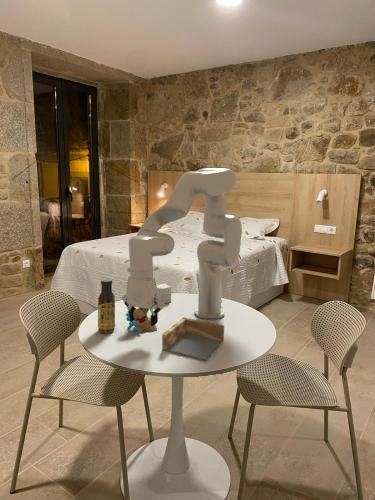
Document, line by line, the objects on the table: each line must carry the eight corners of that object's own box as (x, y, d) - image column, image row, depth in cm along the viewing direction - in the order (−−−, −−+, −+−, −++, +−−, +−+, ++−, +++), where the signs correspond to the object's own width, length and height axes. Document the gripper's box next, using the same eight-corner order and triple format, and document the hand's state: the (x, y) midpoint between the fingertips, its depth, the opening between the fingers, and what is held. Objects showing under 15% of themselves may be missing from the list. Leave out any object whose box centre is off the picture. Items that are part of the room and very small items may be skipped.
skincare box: (165, 298, 174) (165, 283, 172) (171, 302, 169) (171, 286, 167) (153, 300, 171) (153, 285, 169) (159, 304, 166) (159, 288, 164)
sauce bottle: (100, 335, 134) (98, 283, 130) (96, 329, 140) (94, 278, 135) (118, 332, 137) (116, 281, 133) (113, 325, 143) (111, 276, 138)
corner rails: (183, 332, 138) (183, 317, 137) (223, 341, 132) (224, 325, 130) (162, 350, 124) (162, 334, 123) (206, 361, 117) (206, 344, 116)
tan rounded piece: (144, 323, 131) (143, 297, 129) (158, 330, 126) (158, 303, 123) (132, 328, 128) (130, 301, 125) (146, 335, 122) (144, 307, 120)
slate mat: (183, 332, 138) (183, 330, 138) (223, 341, 132) (223, 339, 131) (162, 350, 124) (162, 348, 124) (206, 361, 117) (206, 359, 117)
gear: (140, 333, 133) (123, 311, 134) (129, 343, 134) (113, 321, 136) (153, 326, 143) (138, 305, 145) (143, 334, 145) (128, 314, 147)
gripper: (113, 273, 122) (116, 322, 127) (158, 280, 115) (160, 331, 119) (126, 267, 129) (128, 313, 133) (170, 273, 122) (171, 322, 126)
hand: (143, 321), depth 126 cm, fingers closed on tan rounded piece, 7 cm apart
